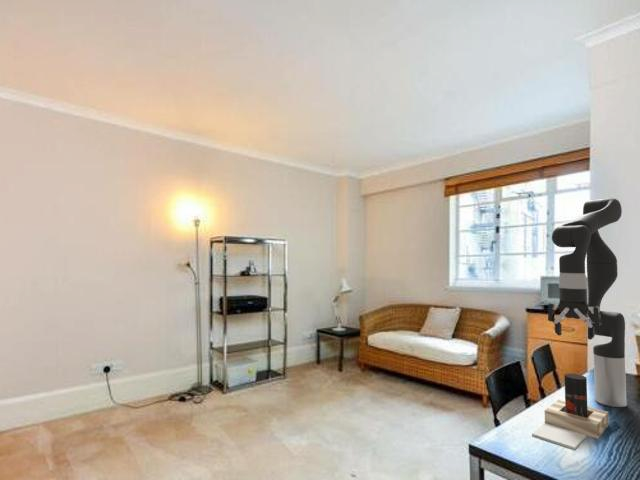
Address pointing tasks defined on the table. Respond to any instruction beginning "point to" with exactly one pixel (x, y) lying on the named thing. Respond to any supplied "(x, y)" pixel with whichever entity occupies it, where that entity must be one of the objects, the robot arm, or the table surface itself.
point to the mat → (559, 436)
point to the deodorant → (576, 395)
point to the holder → (577, 420)
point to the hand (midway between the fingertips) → (574, 337)
